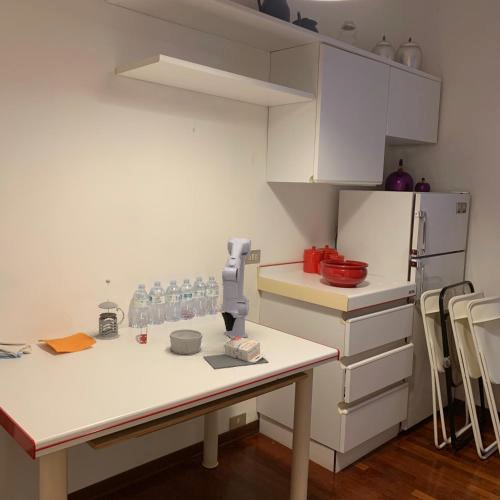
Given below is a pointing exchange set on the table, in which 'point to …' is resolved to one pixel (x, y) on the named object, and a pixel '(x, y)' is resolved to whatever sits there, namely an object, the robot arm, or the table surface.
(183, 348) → the ramekin
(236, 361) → the mat
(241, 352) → the ink cartridge box
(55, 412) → the table surface
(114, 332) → the french press
